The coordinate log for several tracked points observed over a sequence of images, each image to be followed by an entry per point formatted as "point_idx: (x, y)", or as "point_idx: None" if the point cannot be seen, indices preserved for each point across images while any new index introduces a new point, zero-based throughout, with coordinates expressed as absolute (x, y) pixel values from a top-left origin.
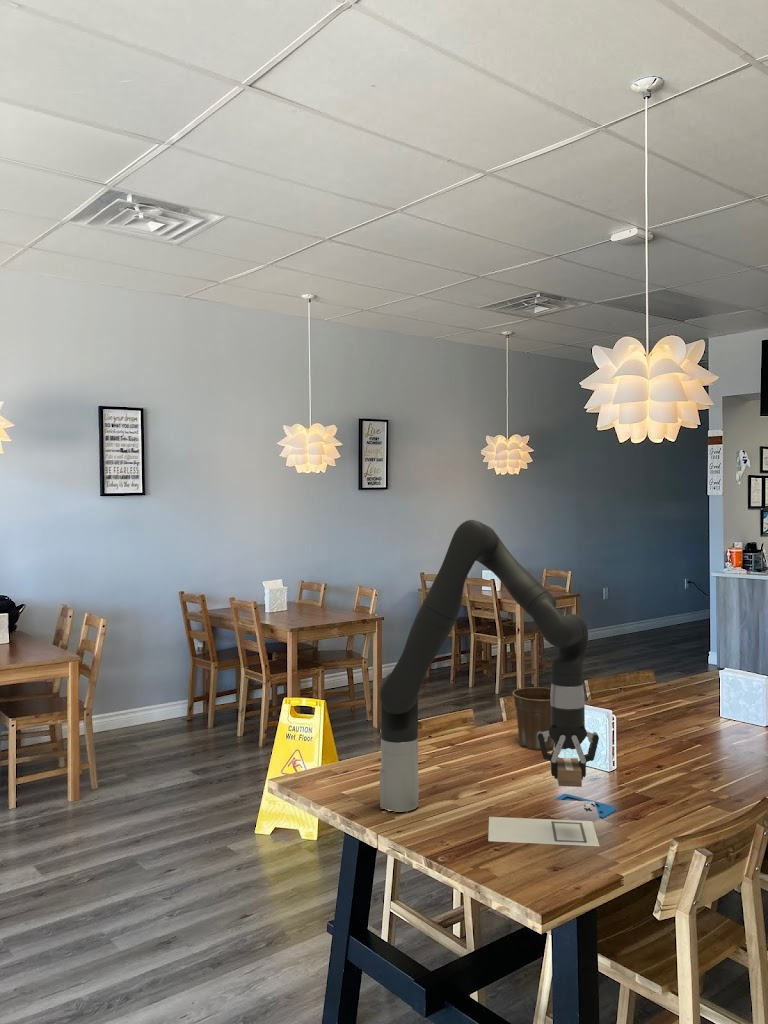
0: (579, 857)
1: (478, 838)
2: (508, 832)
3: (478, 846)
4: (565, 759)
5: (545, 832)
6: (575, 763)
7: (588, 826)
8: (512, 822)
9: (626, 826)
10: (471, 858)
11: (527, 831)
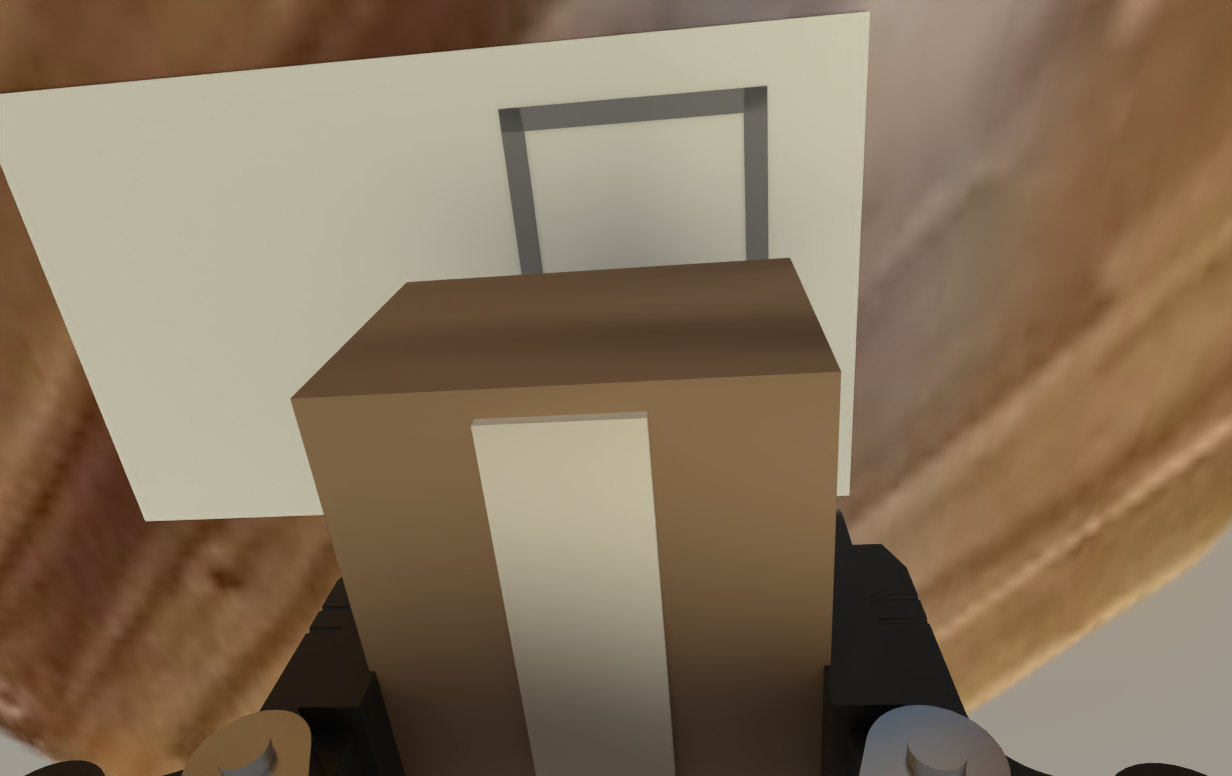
0: None
1: (70, 454)
2: (222, 380)
3: (116, 555)
4: (534, 533)
5: None
6: (750, 691)
7: (817, 153)
8: (194, 186)
9: (1183, 21)
10: (140, 682)
11: (345, 340)
